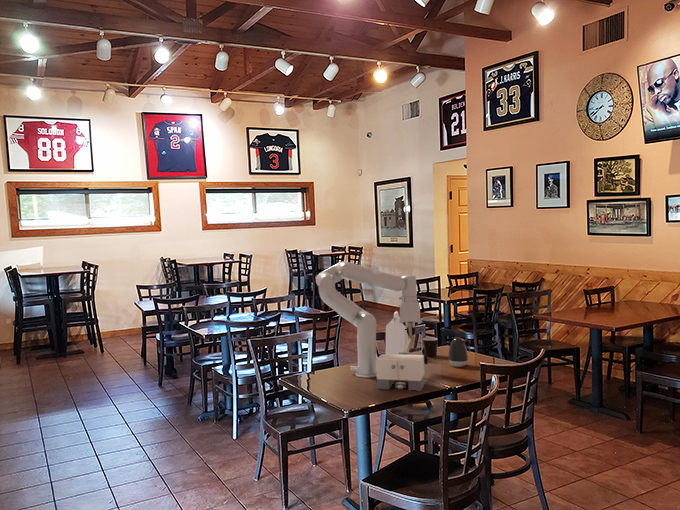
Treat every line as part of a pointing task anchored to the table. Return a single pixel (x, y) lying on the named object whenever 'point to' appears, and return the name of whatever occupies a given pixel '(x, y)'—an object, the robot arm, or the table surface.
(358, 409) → the table surface
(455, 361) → the pump dispenser
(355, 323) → the robot arm
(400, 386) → the steel puck
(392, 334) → the milk
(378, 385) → the cabinet
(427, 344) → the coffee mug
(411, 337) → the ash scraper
